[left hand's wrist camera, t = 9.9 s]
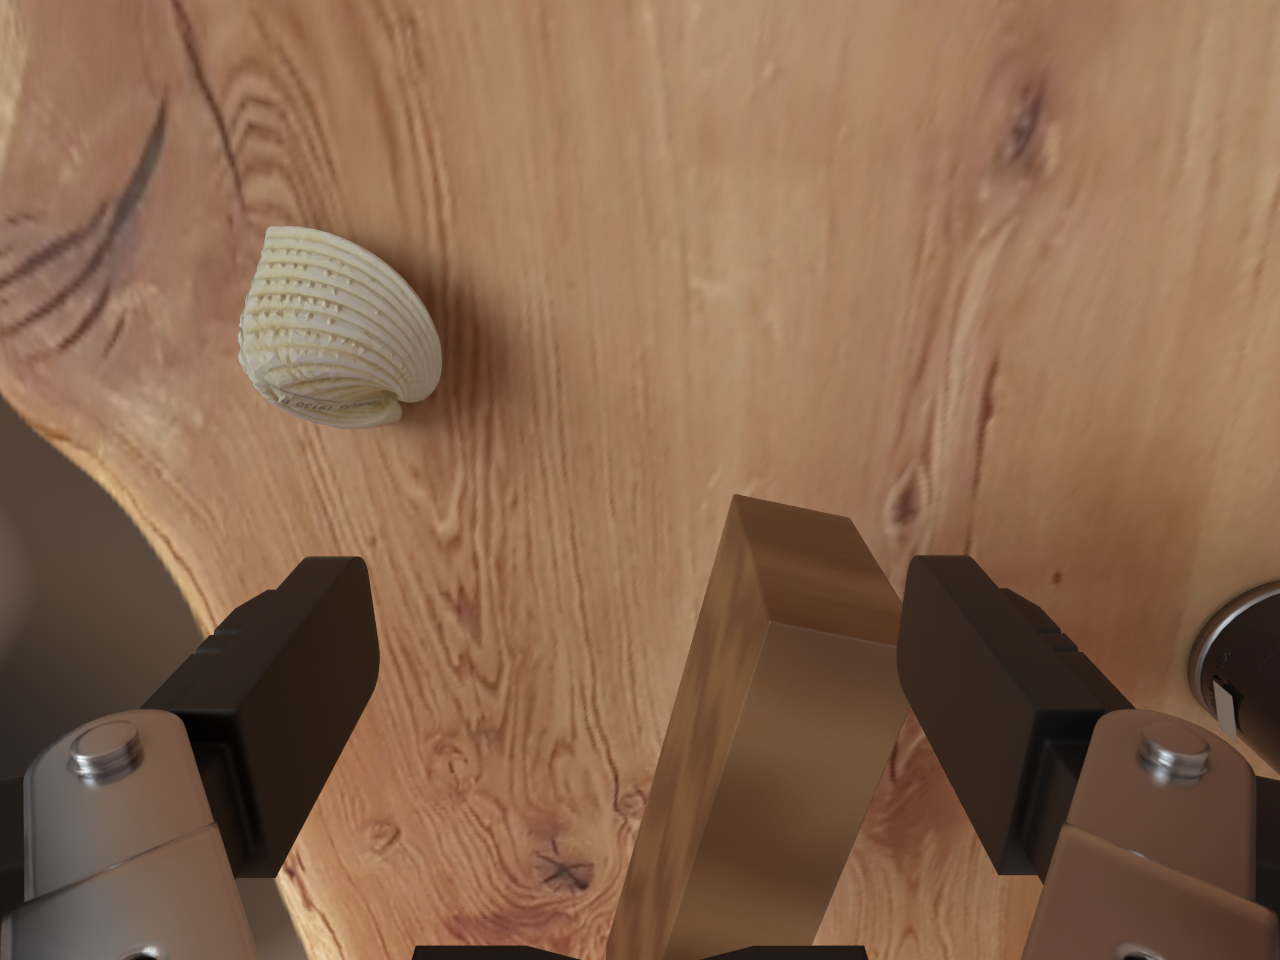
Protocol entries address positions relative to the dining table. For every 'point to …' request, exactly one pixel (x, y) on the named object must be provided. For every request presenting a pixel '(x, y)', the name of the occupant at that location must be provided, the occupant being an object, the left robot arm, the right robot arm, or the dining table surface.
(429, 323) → the seashell
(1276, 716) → the right robot arm
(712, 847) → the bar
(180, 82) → the dining table surface
